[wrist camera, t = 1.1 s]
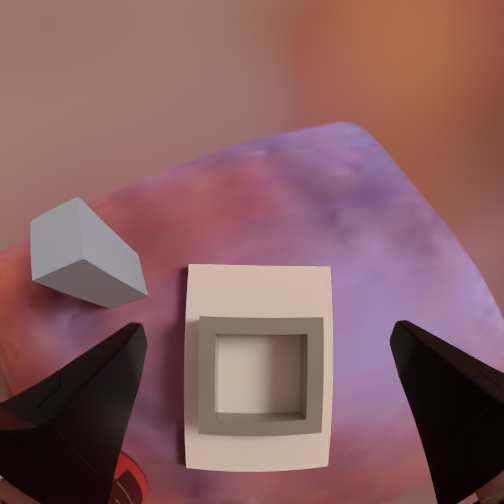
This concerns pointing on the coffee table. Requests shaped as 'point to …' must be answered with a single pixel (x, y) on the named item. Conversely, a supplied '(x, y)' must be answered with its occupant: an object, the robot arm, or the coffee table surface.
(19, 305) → the coffee table surface
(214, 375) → the well
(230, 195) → the coffee table surface
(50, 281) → the post
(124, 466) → the canned food
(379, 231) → the coffee table surface
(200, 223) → the coffee table surface
